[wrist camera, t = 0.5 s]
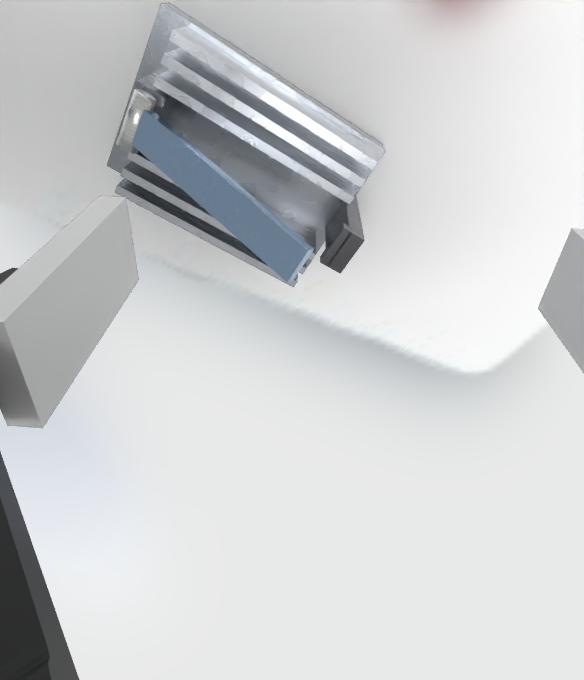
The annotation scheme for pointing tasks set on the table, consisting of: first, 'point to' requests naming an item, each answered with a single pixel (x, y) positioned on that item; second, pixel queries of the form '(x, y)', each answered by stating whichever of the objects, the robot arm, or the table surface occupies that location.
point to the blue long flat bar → (212, 188)
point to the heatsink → (248, 143)
